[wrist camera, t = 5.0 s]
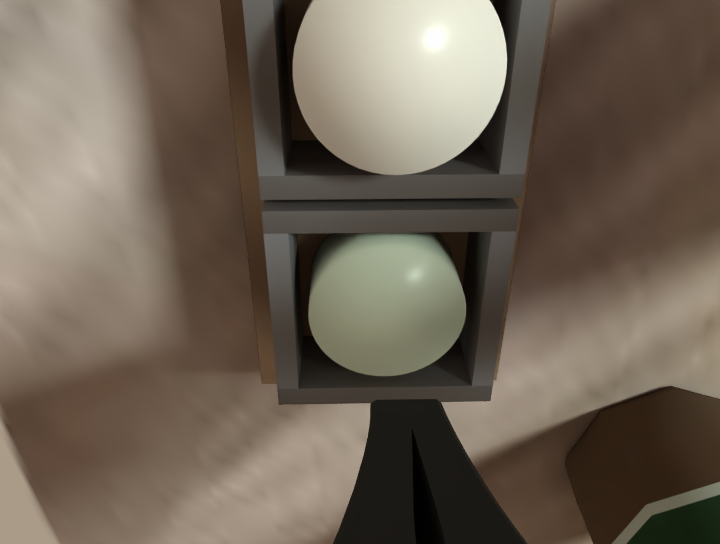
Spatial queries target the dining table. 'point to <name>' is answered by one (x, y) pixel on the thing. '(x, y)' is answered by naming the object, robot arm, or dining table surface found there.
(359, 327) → the sage button
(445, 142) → the cream button
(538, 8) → the button panel
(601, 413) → the beer bottle
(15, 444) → the dining table surface
